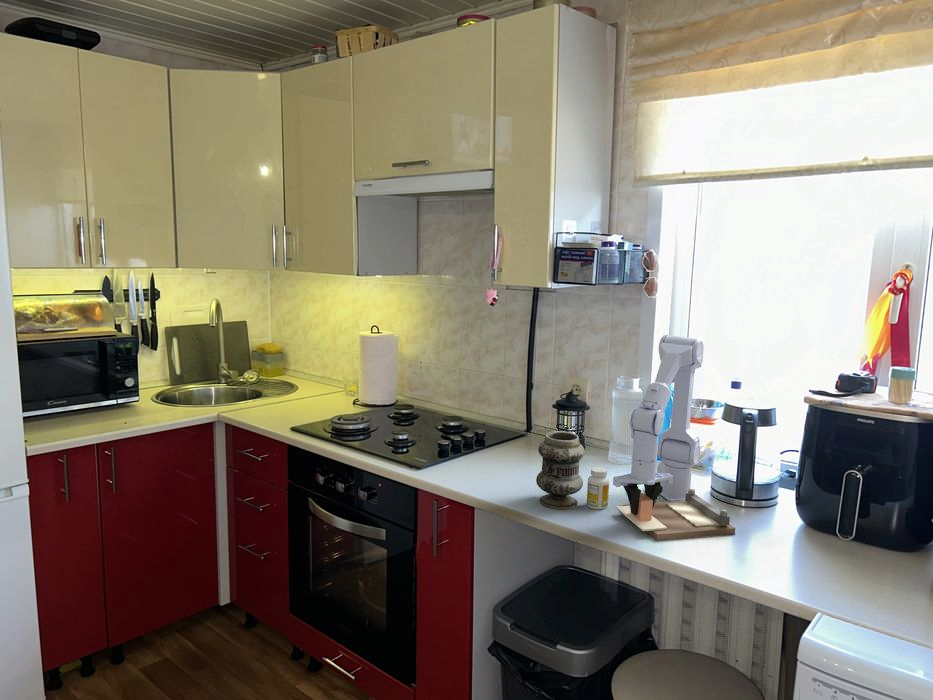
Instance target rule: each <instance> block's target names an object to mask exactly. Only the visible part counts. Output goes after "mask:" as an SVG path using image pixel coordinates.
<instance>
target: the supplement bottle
mask: <svg viewBox="0 0 933 700" xmlns="http://www.w3.org/2000/svg"><path fill="white" fill-rule="evenodd" d="M607 475H608V470H607V469H606V468H604V467H599V466H597V467H592V468H591V469H590V476H589V477H588V478H587V486H586V487H587V488H586V489H587V490H586V506H587V507H588V508H590V509H592V510H604V509H608V505H609V493H610V491H609V490H610V480H609V478H608V477H607Z"/></svg>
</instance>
